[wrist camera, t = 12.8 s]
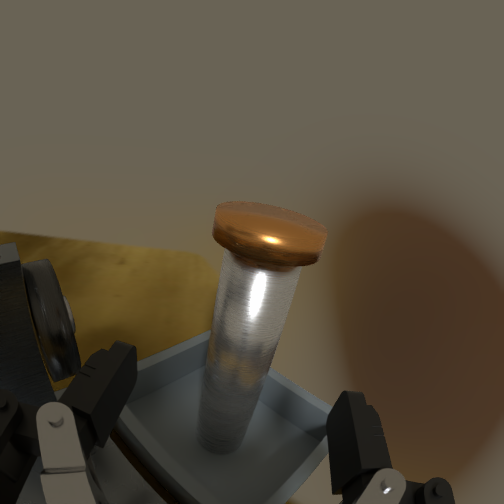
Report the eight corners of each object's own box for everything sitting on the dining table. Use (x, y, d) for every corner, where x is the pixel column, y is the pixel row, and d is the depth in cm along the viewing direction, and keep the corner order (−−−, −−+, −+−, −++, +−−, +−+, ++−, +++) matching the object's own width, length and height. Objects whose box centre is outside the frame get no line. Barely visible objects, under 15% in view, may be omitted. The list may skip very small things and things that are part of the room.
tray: (101, 410, 16) (93, 379, 15) (209, 358, 25) (214, 327, 23) (234, 547, 9) (247, 539, 8) (332, 445, 18) (352, 418, 16)
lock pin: (173, 438, 16) (192, 209, 10) (209, 401, 20) (249, 197, 14) (231, 473, 14) (310, 250, 9) (262, 429, 18) (337, 226, 12)
